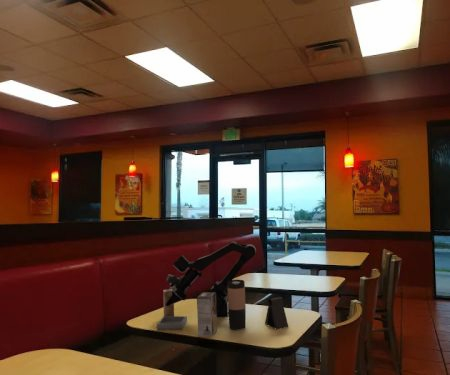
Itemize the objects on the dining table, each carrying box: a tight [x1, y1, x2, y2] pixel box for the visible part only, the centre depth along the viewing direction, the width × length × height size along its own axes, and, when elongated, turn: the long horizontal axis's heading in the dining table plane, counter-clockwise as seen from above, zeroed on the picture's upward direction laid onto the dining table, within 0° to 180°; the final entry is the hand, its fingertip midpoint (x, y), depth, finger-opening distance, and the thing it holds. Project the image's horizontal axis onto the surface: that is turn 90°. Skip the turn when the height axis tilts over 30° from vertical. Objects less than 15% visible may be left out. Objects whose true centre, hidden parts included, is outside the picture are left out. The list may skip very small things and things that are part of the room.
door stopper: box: [264, 296, 289, 330], centre depth 167 cm, size 9×6×12 cm, turn 29°
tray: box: [156, 315, 188, 331], centre depth 171 cm, size 11×11×2 cm
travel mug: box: [227, 279, 247, 331], centre depth 166 cm, size 8×8×20 cm
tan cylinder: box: [162, 288, 175, 316], centre depth 183 cm, size 4×4×13 cm
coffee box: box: [196, 291, 218, 338], centre depth 160 cm, size 9×6×16 cm
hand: (165, 304), depth 183 cm, fingers closed on tan cylinder, 4 cm apart
